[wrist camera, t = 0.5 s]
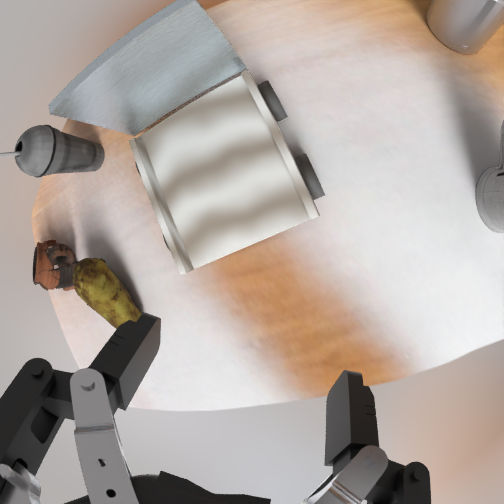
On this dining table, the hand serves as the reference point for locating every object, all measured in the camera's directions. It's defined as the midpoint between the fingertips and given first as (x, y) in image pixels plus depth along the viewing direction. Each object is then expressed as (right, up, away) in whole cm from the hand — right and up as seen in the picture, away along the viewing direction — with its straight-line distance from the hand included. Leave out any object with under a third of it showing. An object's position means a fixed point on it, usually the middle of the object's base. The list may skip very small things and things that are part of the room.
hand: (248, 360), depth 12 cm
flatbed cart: (-2, +14, +25) cm, 29 cm away
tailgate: (-7, +22, +20) cm, 30 cm away
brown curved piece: (-33, +3, +35) cm, 48 cm away
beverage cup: (-25, +20, +30) cm, 44 cm away
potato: (-20, -2, +32) cm, 38 cm away
